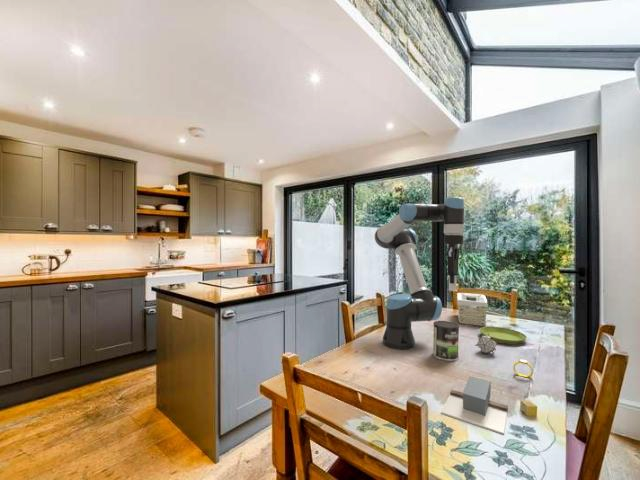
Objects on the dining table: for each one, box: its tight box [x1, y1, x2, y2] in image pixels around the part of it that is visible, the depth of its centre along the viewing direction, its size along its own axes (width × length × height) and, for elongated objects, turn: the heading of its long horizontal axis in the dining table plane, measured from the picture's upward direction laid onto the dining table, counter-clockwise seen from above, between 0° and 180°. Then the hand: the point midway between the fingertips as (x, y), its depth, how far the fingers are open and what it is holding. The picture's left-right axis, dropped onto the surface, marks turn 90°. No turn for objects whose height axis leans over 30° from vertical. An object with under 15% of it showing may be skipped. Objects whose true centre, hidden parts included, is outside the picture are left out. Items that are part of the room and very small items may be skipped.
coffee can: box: [432, 320, 460, 362], centre depth 131 cm, size 10×10×14 cm
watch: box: [512, 359, 534, 378], centre depth 113 cm, size 6×3×6 cm, turn 59°
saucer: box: [478, 326, 528, 345], centre depth 154 cm, size 21×21×3 cm
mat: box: [440, 394, 508, 435], centre depth 89 cm, size 16×12×1 cm
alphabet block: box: [519, 399, 538, 417], centre depth 90 cm, size 3×3×3 cm
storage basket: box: [456, 292, 488, 327], centre depth 186 cm, size 24×16×15 cm
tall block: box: [462, 374, 492, 416], centre depth 93 cm, size 6×5×11 cm
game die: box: [474, 334, 499, 355], centre depth 135 cm, size 9×8×10 cm
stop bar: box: [449, 389, 509, 413], centre depth 95 cm, size 16×2×1 cm, turn 54°
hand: (452, 290), depth 126 cm, fingers closed
